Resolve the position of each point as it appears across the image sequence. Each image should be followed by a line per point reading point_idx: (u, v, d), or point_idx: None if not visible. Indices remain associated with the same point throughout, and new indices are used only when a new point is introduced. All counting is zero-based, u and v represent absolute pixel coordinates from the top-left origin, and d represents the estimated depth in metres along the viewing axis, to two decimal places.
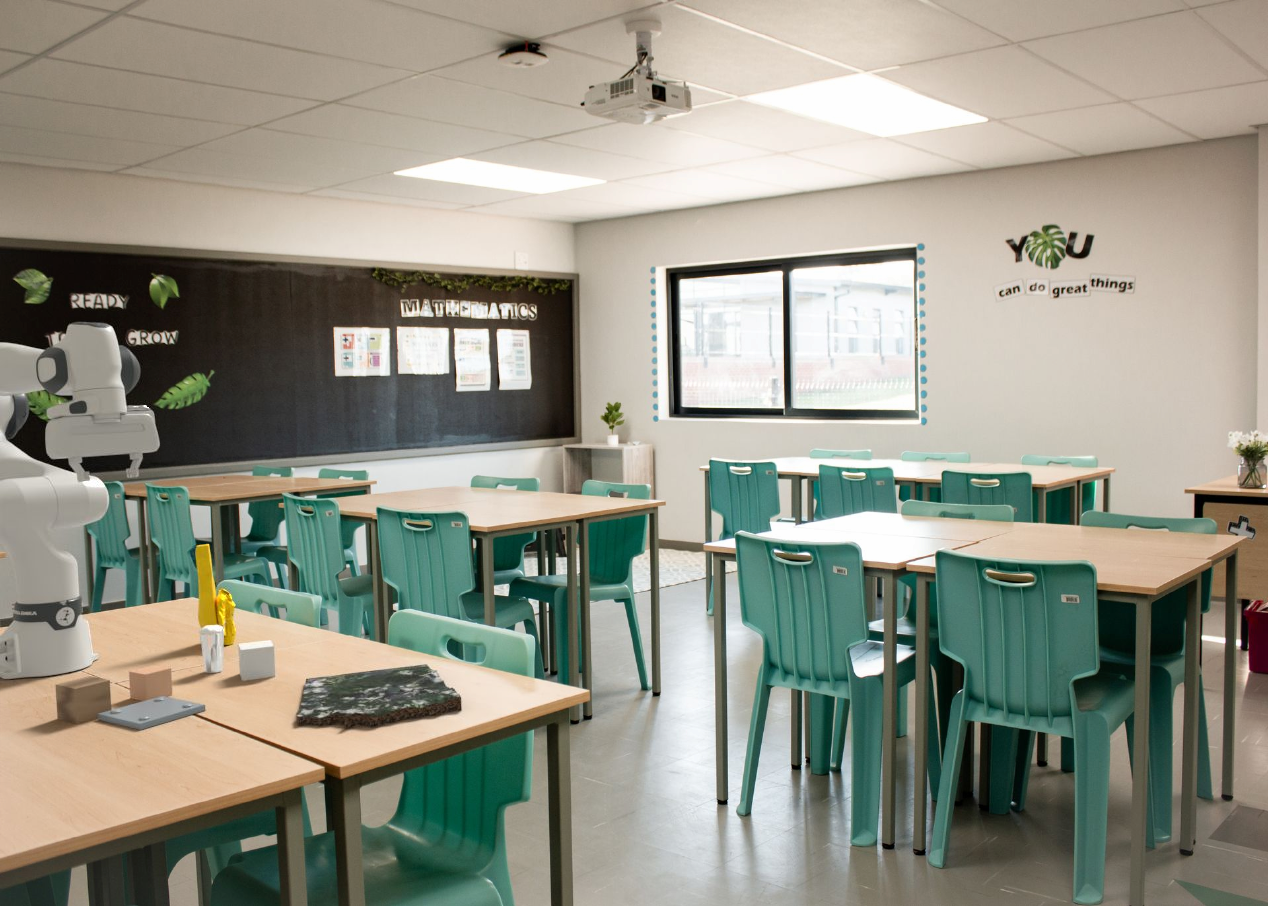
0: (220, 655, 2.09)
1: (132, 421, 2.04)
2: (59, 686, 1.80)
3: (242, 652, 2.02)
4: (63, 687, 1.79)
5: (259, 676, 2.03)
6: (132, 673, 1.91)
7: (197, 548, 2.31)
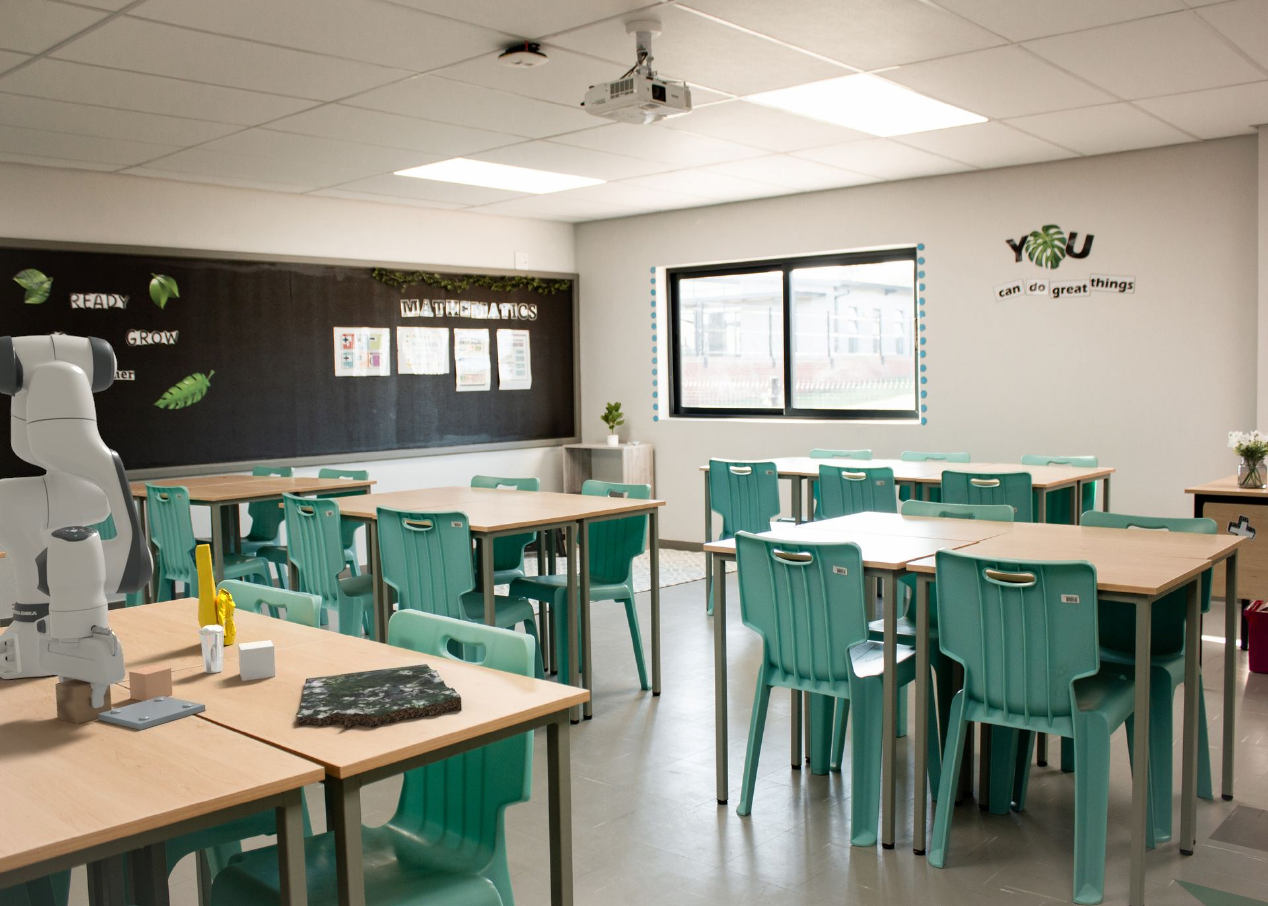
0: (220, 655, 2.09)
1: (86, 647, 1.77)
2: (59, 685, 1.80)
3: (242, 652, 2.02)
4: (63, 686, 1.79)
5: (259, 676, 2.03)
6: (132, 673, 1.91)
7: (197, 548, 2.31)
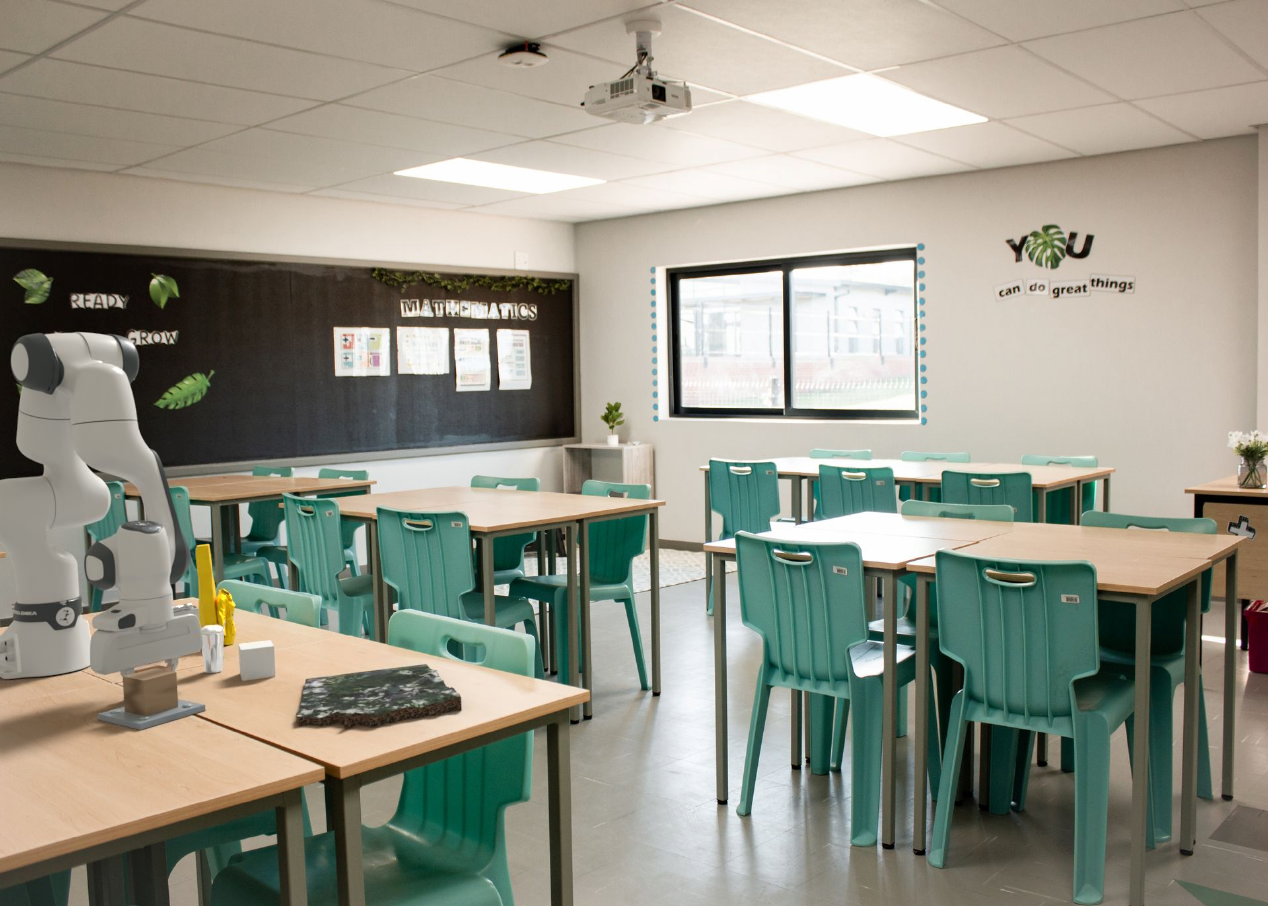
0: (220, 655, 2.09)
1: (178, 624, 1.95)
2: (126, 678, 1.79)
3: (242, 652, 2.02)
4: (131, 679, 1.78)
5: (259, 676, 2.03)
6: None
7: (197, 548, 2.31)
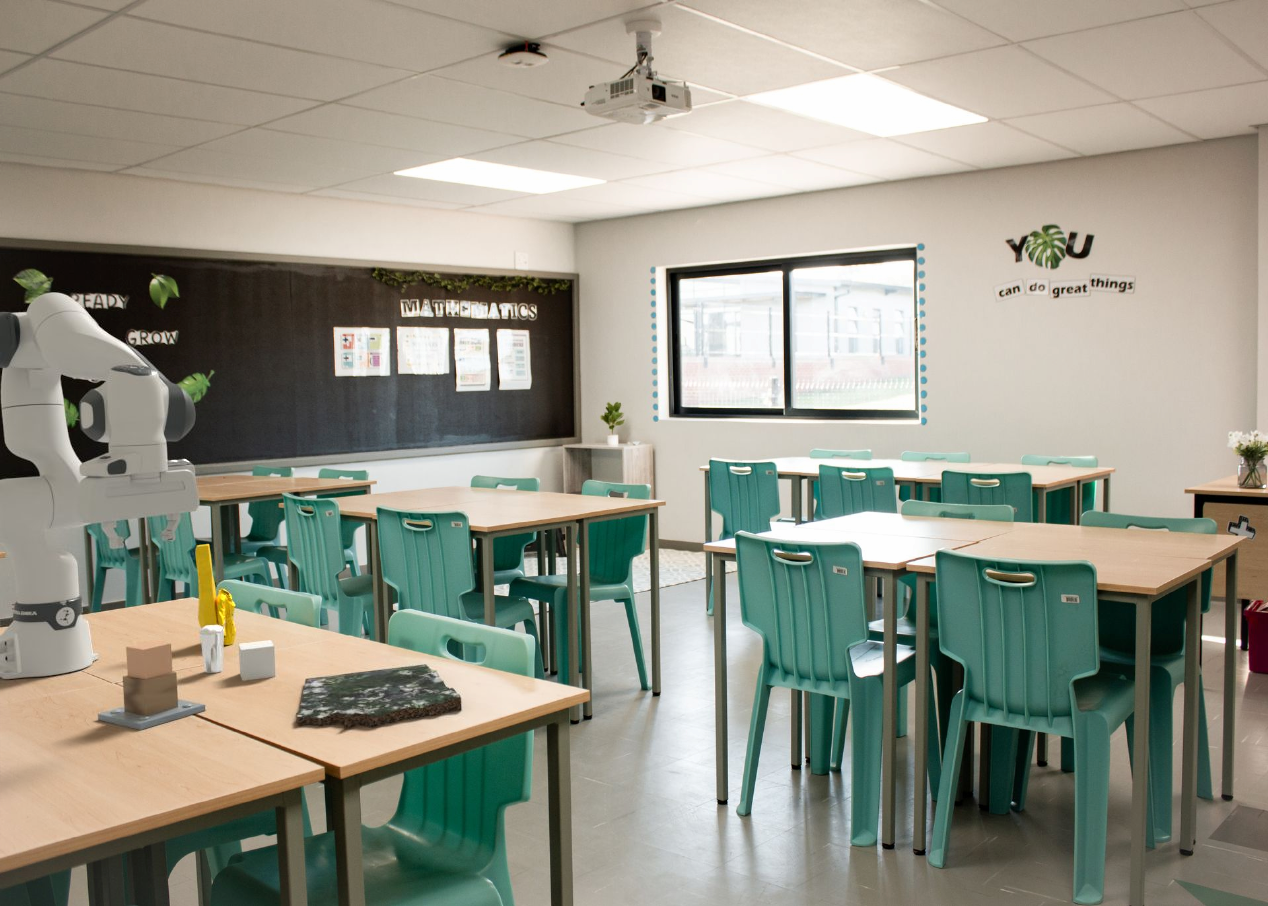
0: (220, 655, 2.09)
1: (172, 478, 1.82)
2: (126, 678, 1.79)
3: (242, 652, 2.02)
4: (131, 679, 1.78)
5: (259, 676, 2.03)
6: (129, 648, 1.79)
7: (197, 548, 2.31)
